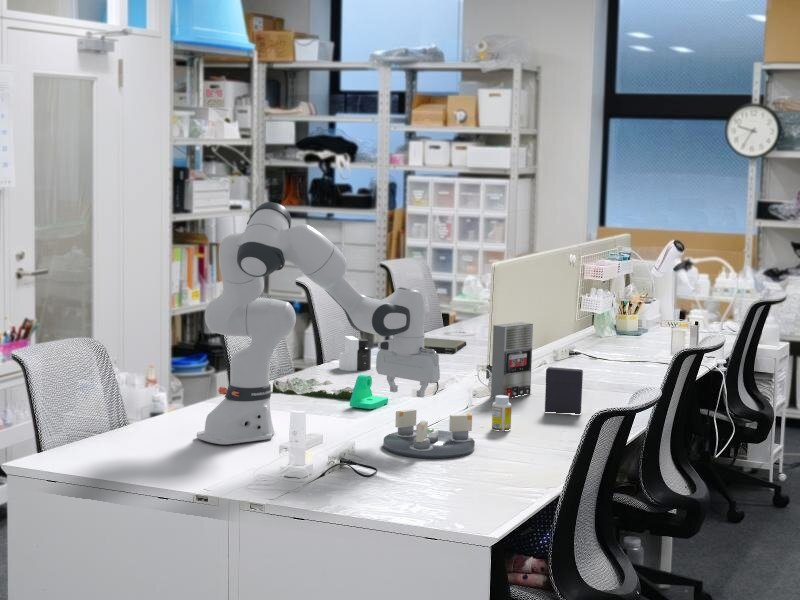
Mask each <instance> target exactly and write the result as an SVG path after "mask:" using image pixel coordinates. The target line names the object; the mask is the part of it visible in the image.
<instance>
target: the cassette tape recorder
mask: <svg viewBox="0 0 800 600" xmlns="http://www.w3.org/2000/svg"><path fill="white" fill-rule="evenodd" d="M492 328H493V329H492V353H491V354H492V355H491V356H492V357H491V380H490V381H491V382H490V383H491V387H490V398H492V397H493V398H492V399H495V397H496V396H497V395H505V396H509V398H512V397H515V396H518V395H524V394H531V391H532V390H531V386H532V361H533V358H532V357H533V338H534V337H533V335H534V334H533V332H534V324H533V323H529V322H525V321H520V322H511V323H502V324H493V326H492ZM512 399H513V398H512Z"/></svg>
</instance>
